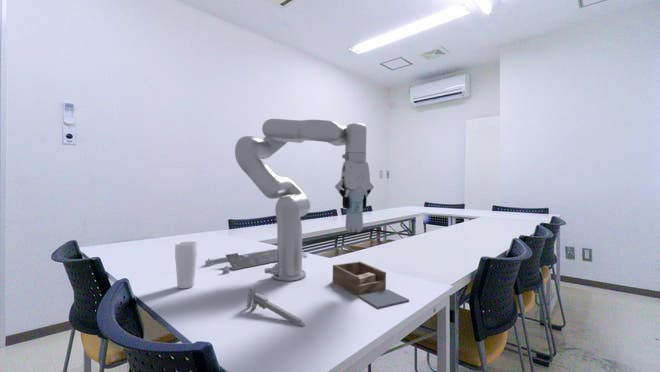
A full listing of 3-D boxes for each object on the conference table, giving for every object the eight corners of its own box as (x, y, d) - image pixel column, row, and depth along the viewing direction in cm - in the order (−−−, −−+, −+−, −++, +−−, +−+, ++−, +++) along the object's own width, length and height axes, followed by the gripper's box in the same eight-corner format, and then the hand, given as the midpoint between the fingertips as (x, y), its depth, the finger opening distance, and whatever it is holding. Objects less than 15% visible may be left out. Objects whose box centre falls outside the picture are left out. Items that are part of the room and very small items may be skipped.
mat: (377, 308, 85) (377, 306, 85) (358, 296, 94) (358, 295, 94) (409, 301, 91) (409, 299, 91) (388, 290, 100) (388, 289, 100)
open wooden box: (356, 295, 95) (356, 277, 95) (332, 281, 109) (332, 265, 109) (385, 289, 101) (385, 272, 101) (359, 276, 115) (359, 261, 115)
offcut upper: (360, 286, 98) (360, 278, 98) (353, 283, 100) (353, 276, 100) (375, 281, 103) (375, 274, 103) (368, 279, 105) (368, 272, 105)
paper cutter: (205, 266, 130) (205, 253, 130) (289, 251, 160) (289, 240, 160) (222, 275, 117) (222, 261, 117) (310, 257, 147) (310, 246, 147)
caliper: (246, 309, 85) (246, 287, 85) (249, 307, 86) (249, 286, 86) (303, 328, 74) (303, 303, 74) (305, 326, 75) (306, 301, 75)
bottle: (362, 233, 103) (363, 176, 103) (343, 232, 105) (344, 175, 104) (364, 230, 110) (365, 176, 110) (346, 229, 111) (347, 176, 111)
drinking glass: (201, 284, 105) (201, 242, 104) (185, 291, 98) (186, 245, 98) (185, 282, 107) (186, 240, 107) (170, 288, 100) (170, 244, 100)
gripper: (339, 156, 100) (338, 209, 100) (381, 159, 108) (380, 208, 108) (329, 157, 106) (328, 207, 106) (369, 160, 114) (368, 206, 115)
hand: (354, 207), depth 107 cm, fingers closed on bottle, 6 cm apart
